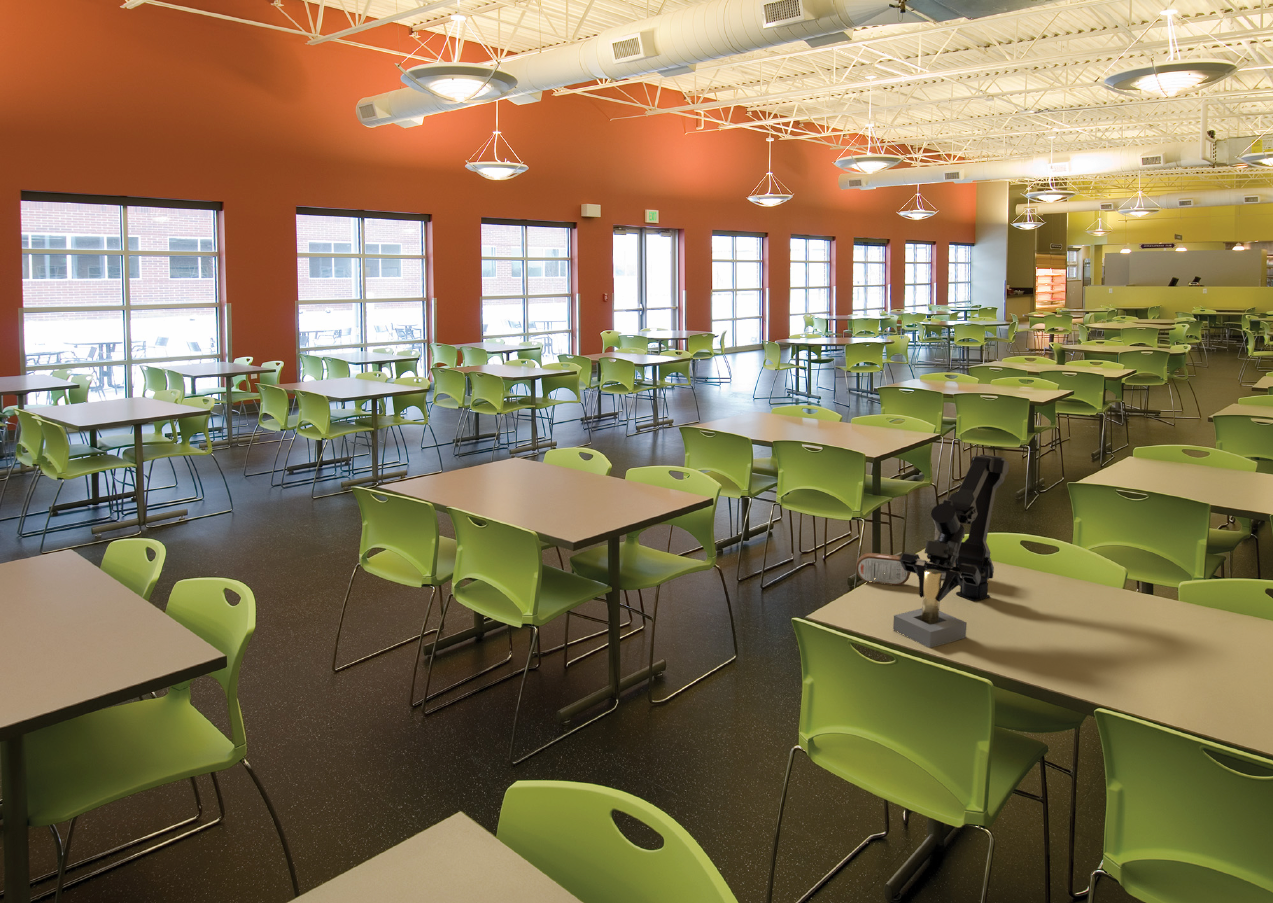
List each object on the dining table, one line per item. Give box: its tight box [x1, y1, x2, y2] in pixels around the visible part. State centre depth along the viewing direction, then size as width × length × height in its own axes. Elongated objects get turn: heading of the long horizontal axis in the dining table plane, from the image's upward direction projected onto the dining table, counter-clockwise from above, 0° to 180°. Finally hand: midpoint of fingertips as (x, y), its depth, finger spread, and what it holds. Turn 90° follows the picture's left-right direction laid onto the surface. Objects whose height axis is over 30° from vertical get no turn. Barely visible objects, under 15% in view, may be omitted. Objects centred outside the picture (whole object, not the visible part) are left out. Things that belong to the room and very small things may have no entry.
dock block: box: [892, 607, 968, 649], centre depth 224 cm, size 12×12×4 cm
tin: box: [855, 552, 912, 586], centre depth 259 cm, size 15×3×8 cm, turn 71°
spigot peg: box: [921, 569, 942, 625], centre depth 222 cm, size 4×4×13 cm
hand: (929, 598), depth 221 cm, fingers closed on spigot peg, 4 cm apart
